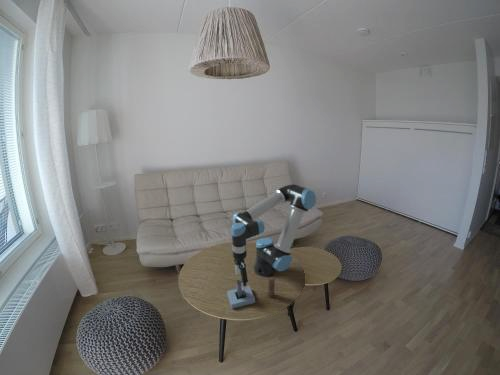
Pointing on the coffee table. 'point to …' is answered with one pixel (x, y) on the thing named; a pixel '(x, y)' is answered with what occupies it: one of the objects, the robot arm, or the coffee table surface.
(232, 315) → the coffee table surface
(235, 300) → the bore block
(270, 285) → the walnut dowel
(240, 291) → the square bit
